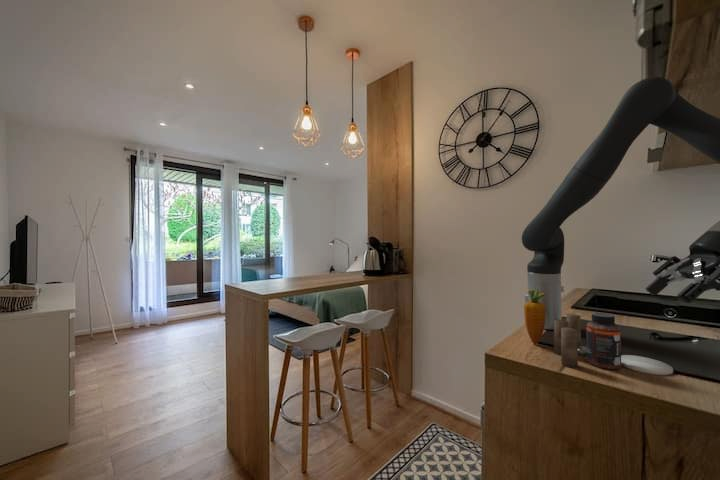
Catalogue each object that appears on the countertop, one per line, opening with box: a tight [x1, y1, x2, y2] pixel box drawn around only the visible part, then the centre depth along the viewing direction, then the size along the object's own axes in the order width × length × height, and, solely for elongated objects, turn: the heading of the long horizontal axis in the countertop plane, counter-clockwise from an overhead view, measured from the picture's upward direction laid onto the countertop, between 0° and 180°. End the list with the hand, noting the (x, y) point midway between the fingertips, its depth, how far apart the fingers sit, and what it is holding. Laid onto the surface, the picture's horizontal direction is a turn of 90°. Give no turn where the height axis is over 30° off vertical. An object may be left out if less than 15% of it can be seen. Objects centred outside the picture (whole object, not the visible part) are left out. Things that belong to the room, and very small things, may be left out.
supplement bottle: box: [586, 312, 622, 370], centre depth 66 cm, size 6×6×11 cm
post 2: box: [565, 313, 582, 346], centre depth 78 cm, size 3×3×8 cm
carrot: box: [523, 289, 545, 345], centre depth 79 cm, size 5×5×15 cm
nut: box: [578, 345, 587, 357], centre depth 73 cm, size 4×4×1 cm
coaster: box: [621, 354, 674, 376], centre depth 65 cm, size 9×9×1 cm
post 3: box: [560, 327, 579, 369], centre depth 66 cm, size 3×3×8 cm
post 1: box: [553, 319, 569, 356], centre depth 73 cm, size 3×3×8 cm
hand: (665, 295), depth 64 cm, fingers open, 8 cm apart
